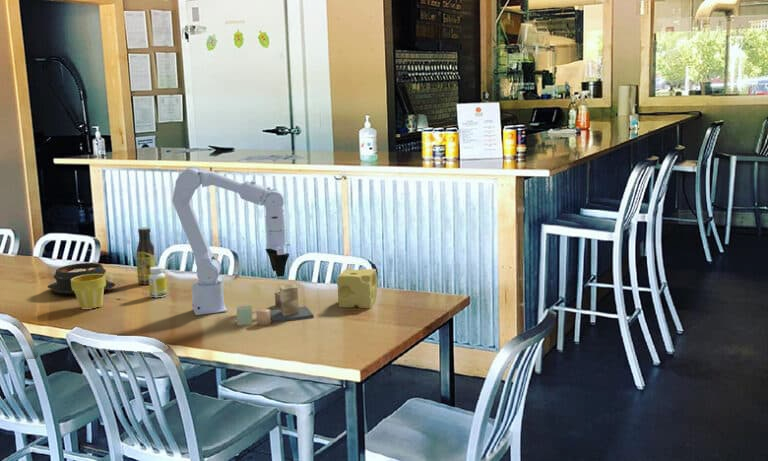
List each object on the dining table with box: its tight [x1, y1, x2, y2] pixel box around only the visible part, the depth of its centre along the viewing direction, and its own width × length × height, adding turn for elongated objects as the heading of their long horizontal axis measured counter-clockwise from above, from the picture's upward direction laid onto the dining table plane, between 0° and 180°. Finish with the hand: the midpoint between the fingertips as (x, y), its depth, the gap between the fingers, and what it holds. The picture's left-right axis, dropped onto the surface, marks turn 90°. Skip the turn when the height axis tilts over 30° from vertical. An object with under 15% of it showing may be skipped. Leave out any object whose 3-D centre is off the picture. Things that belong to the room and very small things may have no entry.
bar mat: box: [270, 305, 314, 324], centre depth 233 cm, size 12×10×1 cm
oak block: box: [279, 283, 300, 316], centre depth 233 cm, size 4×4×8 cm
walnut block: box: [274, 291, 281, 309], centre depth 244 cm, size 4×4×4 cm
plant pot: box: [71, 274, 107, 309], centre depth 250 cm, size 10×10×10 cm
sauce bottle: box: [135, 226, 156, 285], centre depth 278 cm, size 7×6×20 cm
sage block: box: [236, 305, 253, 326], centre depth 228 cm, size 4×4×4 cm
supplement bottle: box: [148, 265, 168, 298], centre depth 260 cm, size 5×5×10 cm
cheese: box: [336, 268, 378, 309], centre depth 243 cm, size 10×11×10 cm
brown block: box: [255, 308, 272, 327], centre depth 226 cm, size 4×4×4 cm
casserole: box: [47, 262, 116, 295], centre depth 272 cm, size 25×19×8 cm
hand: (278, 273), depth 242 cm, fingers open, 7 cm apart
